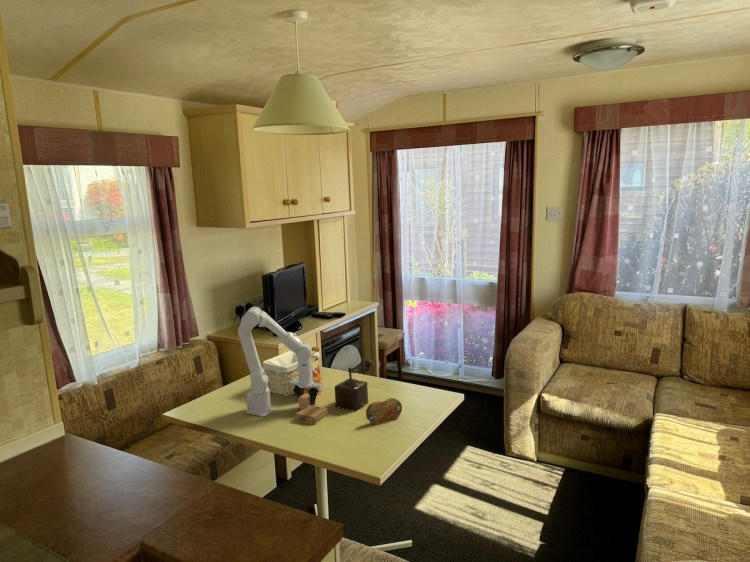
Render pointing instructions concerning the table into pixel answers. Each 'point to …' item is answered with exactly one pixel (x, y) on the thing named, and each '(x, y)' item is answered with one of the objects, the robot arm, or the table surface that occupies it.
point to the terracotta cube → (304, 401)
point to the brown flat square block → (311, 414)
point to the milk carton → (315, 374)
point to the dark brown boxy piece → (352, 391)
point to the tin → (383, 410)
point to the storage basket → (283, 372)
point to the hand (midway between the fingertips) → (307, 403)
